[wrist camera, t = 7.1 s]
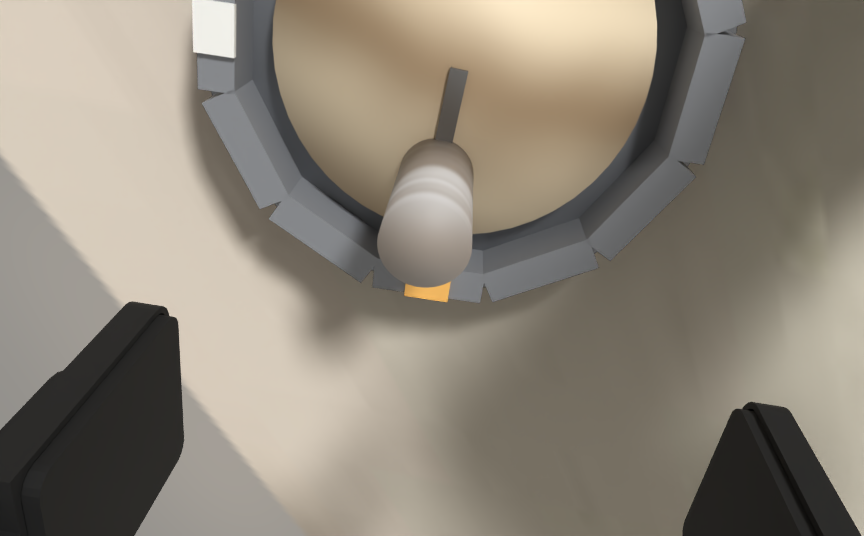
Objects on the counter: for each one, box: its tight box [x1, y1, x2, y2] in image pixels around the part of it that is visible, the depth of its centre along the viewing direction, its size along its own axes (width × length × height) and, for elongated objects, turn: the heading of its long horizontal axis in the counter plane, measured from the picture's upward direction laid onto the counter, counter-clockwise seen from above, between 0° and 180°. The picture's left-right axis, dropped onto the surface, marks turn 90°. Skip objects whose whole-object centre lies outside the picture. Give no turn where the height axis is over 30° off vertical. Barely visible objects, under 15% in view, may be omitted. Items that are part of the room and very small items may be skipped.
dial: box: [272, 0, 657, 288], centre depth 20 cm, size 12×12×7 cm
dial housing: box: [192, 0, 746, 303], centre depth 23 cm, size 18×18×4 cm
